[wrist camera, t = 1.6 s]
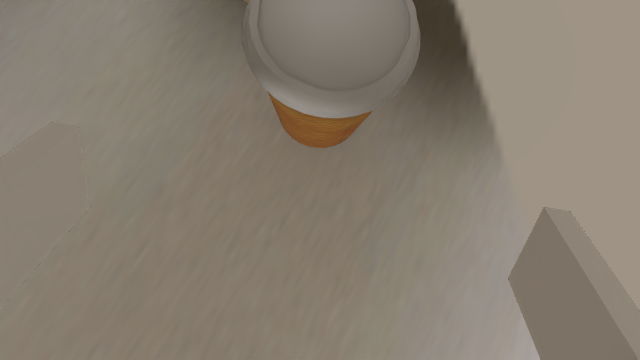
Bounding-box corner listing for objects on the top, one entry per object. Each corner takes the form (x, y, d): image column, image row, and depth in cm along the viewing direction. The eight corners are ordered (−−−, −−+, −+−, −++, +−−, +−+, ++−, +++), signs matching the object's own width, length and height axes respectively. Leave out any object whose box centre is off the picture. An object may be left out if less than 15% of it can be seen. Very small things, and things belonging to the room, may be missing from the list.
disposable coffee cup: (383, 56, 36) (428, -52, 24) (379, 174, 34) (425, 116, 22) (262, 45, 36) (249, -71, 24) (250, 163, 33) (229, 99, 22)
